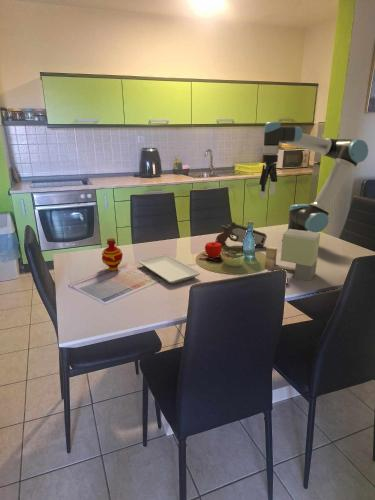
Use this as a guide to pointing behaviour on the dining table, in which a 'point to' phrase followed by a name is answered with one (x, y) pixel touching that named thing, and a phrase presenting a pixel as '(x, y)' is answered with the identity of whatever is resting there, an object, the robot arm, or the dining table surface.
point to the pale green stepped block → (301, 252)
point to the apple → (213, 249)
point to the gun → (239, 235)
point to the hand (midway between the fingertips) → (267, 195)
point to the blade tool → (271, 260)
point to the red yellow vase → (112, 255)
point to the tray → (169, 268)
